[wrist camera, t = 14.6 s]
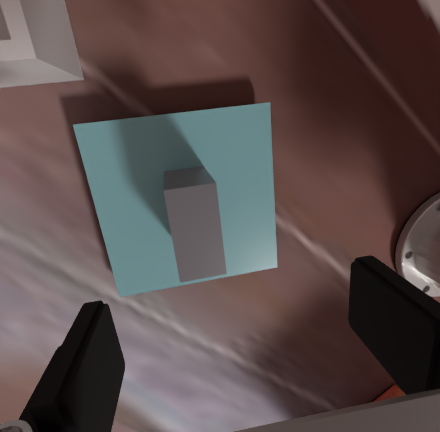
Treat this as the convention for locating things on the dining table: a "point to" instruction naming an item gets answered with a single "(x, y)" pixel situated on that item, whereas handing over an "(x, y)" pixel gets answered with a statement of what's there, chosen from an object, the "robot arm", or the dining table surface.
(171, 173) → the lid
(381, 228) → the dining table surface
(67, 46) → the storage box
